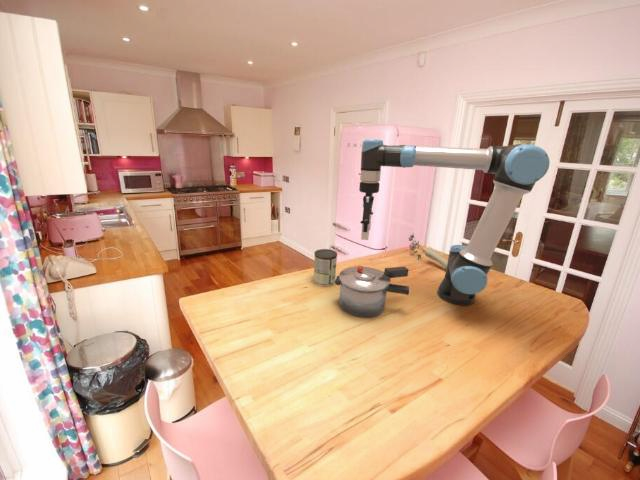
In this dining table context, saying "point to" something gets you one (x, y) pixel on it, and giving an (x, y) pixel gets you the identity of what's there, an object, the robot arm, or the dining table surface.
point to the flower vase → (428, 253)
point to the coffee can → (325, 267)
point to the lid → (370, 278)
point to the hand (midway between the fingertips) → (365, 234)
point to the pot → (366, 300)
